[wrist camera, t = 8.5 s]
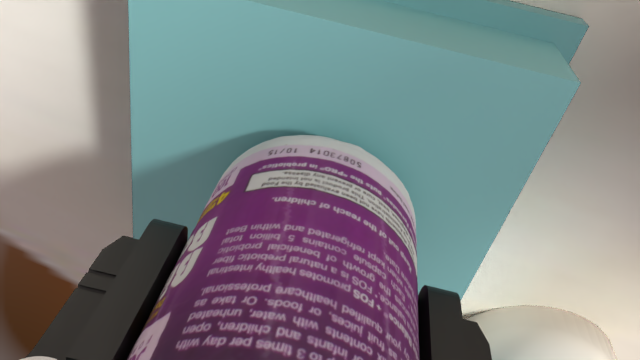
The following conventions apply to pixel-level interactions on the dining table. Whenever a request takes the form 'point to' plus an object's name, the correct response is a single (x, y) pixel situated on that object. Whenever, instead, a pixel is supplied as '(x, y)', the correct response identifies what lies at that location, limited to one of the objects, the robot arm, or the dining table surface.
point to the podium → (353, 103)
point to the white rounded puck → (542, 334)
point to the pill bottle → (294, 262)
